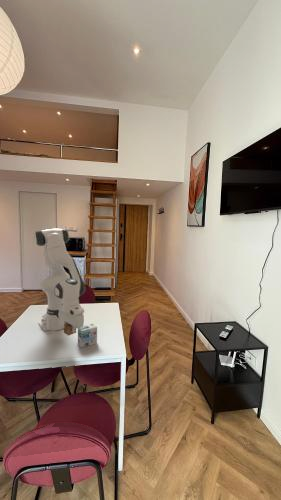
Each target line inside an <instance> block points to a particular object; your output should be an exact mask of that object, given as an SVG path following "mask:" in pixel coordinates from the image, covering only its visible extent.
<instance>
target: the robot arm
mask: <svg viewBox="0 0 281 500" xmlns="http://www.w3.org/2000/svg"><path fill="white" fill-rule="evenodd" d="M33 239H34V242H35V244H36V245H37V246H38V247H43V257H44V265H45V268H46V269H48V270H49V271H50V273H51V274H50V275H47V276H45V277H43V278H42V279H41V280H40V282H39V287H40V289H41V290H42V291H43V292H44V293H45V294H46V297H47V307H46V313H44V314H43V315H42V317H41V320H40V321H39V322H38V326H40V328H42V330H43V331H59V330H64V324H67V323H69V324H70V325H72V327H73V329H71V332H73V333H74V332H75V329H76V330H77V329H78V328H81V327H83V326H84V323H85V322H84V321H85V319H84V318H85V316H84V314H85V310H84V308H83V307H82V306H81V304H80V299H79V298H80V297H81V296H82V295H84V293H85V291H86V288H87V287H86V284H85V282H84V280H83V278H82V276H81V273H80V271H79V269H78V266H77V263H76V261H75V259H74V258H73V256H71V255H70V254H69V253H68V251H67V247H66V244H67V243H68V242H69V240H70V234H69V231H68V230H67V229H65V228H51V229H49V228H48V229H44V230H43V229H39V230H36V231H35V232H34V236H33ZM64 267H65V268H66V269H67V270H69V273H70V274H69V273H67V271H66V270H65V269H64ZM74 334H75V333H74Z"/></svg>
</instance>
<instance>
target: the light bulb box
mask: <svg viewBox="0 0 281 500" xmlns="http://www.w3.org/2000/svg"><path fill="white" fill-rule="evenodd" d="M97 343H98V326H97V325H95V323H89V324H85V325H84V324H83V327H81V328H77V344H78V345H79V346H80V348H85V347H88V346H92V345H95V344H97Z"/></svg>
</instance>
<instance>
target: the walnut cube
mask: <svg viewBox="0 0 281 500" xmlns="http://www.w3.org/2000/svg"><path fill="white" fill-rule="evenodd" d="M71 329H73V327H72V325H70V324H69V323H67V324H64V328H63V333H64V335H65V334H66V336H68V337H69V336H71V335H74V334H76V333H77V328H76V329H75V332H74V333H73V332H71Z"/></svg>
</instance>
